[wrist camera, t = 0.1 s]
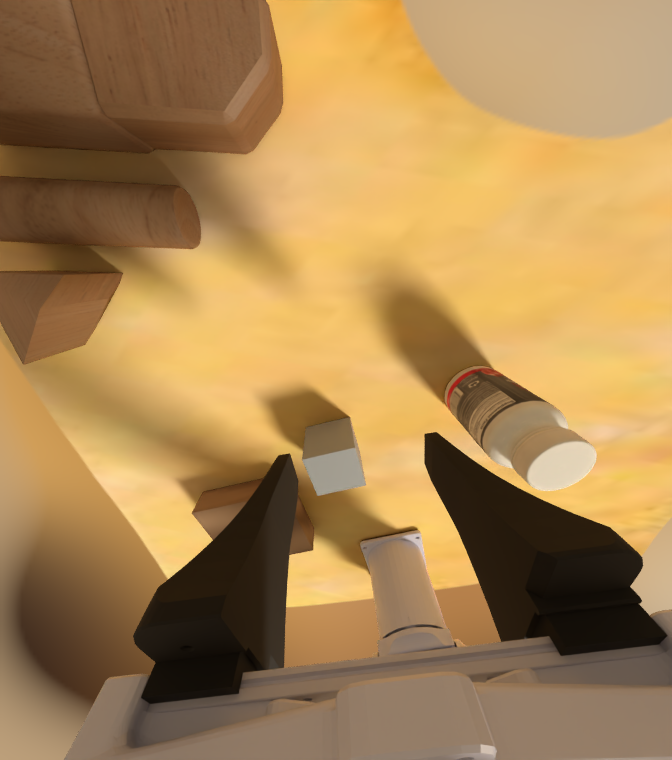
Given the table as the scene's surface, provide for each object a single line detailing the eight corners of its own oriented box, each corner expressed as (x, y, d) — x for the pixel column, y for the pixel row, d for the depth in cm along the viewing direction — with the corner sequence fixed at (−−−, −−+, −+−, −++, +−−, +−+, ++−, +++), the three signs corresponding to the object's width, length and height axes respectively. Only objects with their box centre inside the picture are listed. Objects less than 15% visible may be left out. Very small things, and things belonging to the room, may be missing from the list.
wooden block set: (-317, -124, 8) (258, -62, 9) (-61, 32, 13) (283, 60, 14) (-13, 369, 15) (284, 374, 16) (74, 343, 20) (294, 347, 21)
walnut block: (314, 525, 31) (313, 550, 29) (241, 540, 32) (233, 565, 29) (288, 470, 27) (283, 493, 24) (204, 488, 28) (191, 513, 25)
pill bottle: (511, 382, 23) (629, 456, 14) (470, 422, 25) (550, 510, 16) (472, 353, 21) (575, 415, 13) (430, 398, 23) (495, 480, 14)
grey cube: (359, 450, 26) (366, 485, 22) (318, 459, 26) (317, 495, 22) (349, 416, 24) (355, 447, 20) (305, 427, 24) (302, 459, 20)
